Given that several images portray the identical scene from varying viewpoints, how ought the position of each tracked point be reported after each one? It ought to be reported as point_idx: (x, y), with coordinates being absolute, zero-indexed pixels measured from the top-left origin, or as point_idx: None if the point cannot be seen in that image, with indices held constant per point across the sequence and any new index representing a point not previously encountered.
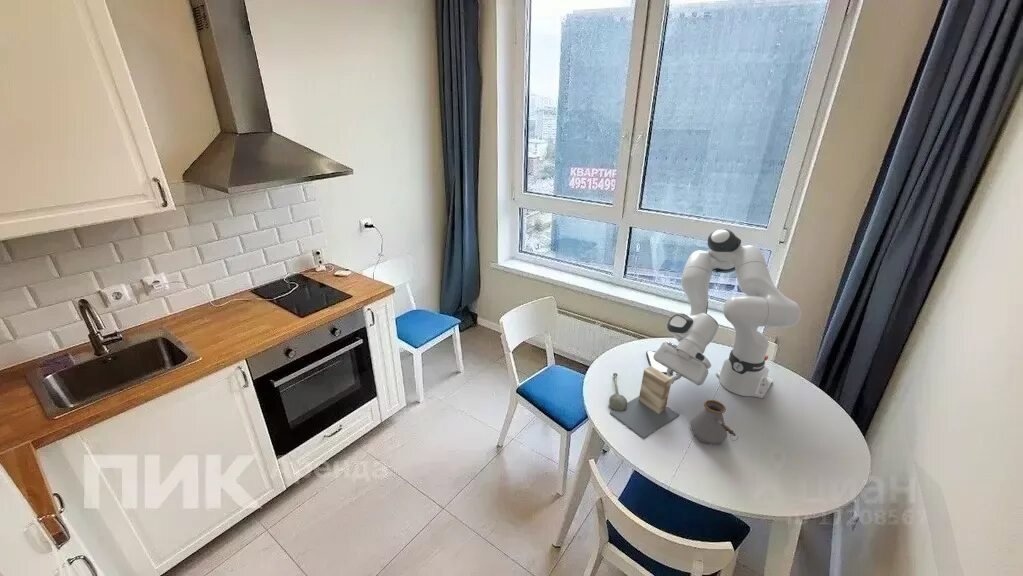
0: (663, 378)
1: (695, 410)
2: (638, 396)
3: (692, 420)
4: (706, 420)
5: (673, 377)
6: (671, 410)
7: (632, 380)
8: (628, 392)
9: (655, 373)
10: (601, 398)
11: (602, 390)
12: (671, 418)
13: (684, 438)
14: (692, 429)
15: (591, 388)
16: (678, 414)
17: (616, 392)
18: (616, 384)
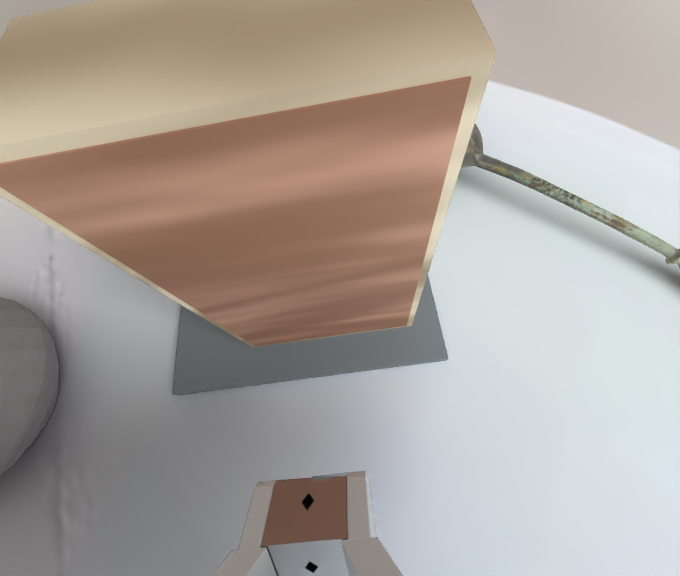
0: (72, 43)
1: (126, 567)
2: (429, 285)
3: (20, 348)
4: None
5: (246, 573)
6: (224, 378)
7: (631, 389)
8: (496, 267)
9: (245, 10)
10: (496, 121)
11: (562, 153)
12: (185, 320)
13: (82, 282)
14: (16, 304)
15: (596, 116)
16: (176, 389)
17: (493, 159)
18: (576, 200)
